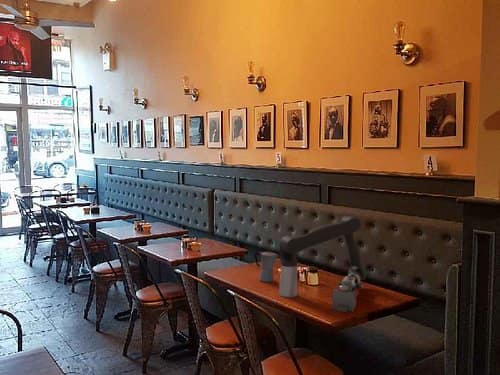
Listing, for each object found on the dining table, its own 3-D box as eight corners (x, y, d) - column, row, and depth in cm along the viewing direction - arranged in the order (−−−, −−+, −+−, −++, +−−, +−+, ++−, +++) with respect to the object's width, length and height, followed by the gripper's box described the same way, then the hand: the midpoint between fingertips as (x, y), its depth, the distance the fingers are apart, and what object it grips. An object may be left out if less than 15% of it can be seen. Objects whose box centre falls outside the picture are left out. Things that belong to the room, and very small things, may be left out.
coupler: (331, 310, 240) (332, 286, 240) (336, 303, 252) (337, 280, 251) (352, 312, 237) (352, 288, 236) (355, 305, 248) (356, 282, 248)
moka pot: (277, 283, 290) (277, 251, 288) (252, 282, 292) (253, 250, 291) (278, 279, 299) (279, 248, 298) (254, 278, 302) (255, 247, 300)
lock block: (341, 302, 252) (342, 280, 251) (344, 297, 261) (345, 275, 260) (351, 303, 250) (351, 281, 249) (354, 298, 260) (354, 276, 259)
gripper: (340, 273, 271) (334, 280, 255) (365, 276, 266) (361, 283, 250) (339, 286, 272) (334, 294, 256) (365, 289, 266) (360, 297, 251)
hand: (347, 289), depth 253 cm, fingers closed on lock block, 5 cm apart
